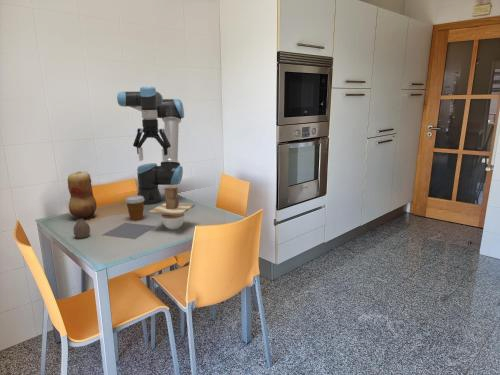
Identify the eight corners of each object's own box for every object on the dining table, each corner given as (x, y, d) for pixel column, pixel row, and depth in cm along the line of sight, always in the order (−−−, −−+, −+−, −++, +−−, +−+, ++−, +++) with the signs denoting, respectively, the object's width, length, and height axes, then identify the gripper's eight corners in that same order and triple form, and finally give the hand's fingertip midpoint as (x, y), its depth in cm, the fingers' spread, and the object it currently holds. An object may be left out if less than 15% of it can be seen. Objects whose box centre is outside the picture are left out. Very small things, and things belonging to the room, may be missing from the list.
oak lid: (166, 204, 184) (164, 183, 181) (194, 206, 179) (193, 184, 177) (149, 213, 169) (147, 190, 166) (179, 215, 164) (178, 192, 162)
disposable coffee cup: (123, 220, 187) (121, 198, 184) (136, 215, 195) (134, 194, 192) (136, 223, 183) (134, 200, 180) (149, 218, 191) (148, 196, 188)
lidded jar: (182, 231, 171) (181, 213, 169) (160, 231, 171) (158, 213, 169) (186, 224, 182) (185, 206, 179) (165, 224, 182) (164, 206, 180)
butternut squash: (65, 222, 186) (59, 174, 180) (76, 214, 199) (71, 169, 193) (92, 221, 186) (87, 174, 180) (102, 213, 199) (97, 169, 193)
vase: (86, 233, 169) (84, 215, 167) (93, 237, 165) (91, 218, 163) (71, 237, 164) (69, 219, 162) (78, 241, 160) (76, 222, 158)
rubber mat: (125, 223, 183) (125, 222, 183) (156, 226, 178) (156, 226, 178) (101, 235, 166) (101, 235, 166) (135, 239, 161) (135, 239, 161)
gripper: (123, 118, 179) (127, 161, 184) (168, 119, 172) (171, 163, 177) (132, 118, 186) (136, 158, 191) (176, 118, 179) (178, 160, 184)
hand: (152, 161), depth 184 cm, fingers open, 13 cm apart
